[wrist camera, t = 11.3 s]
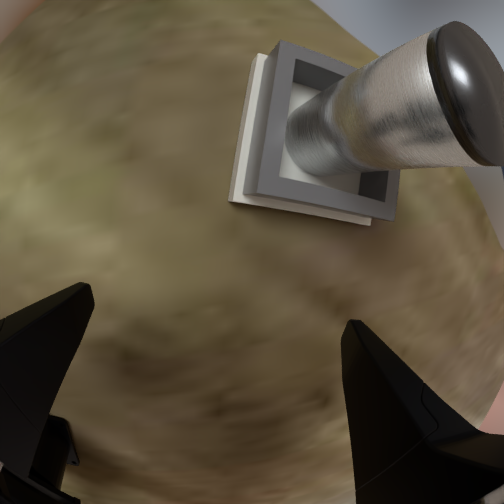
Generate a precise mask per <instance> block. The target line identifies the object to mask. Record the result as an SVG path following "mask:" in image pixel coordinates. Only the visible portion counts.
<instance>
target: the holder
mask: <svg viewBox="0 0 504 504" xmlns="http://www.w3.org/2000/svg"><path fill="white" fill-rule="evenodd" d="M356 70H358V69H357V68H354V67H352V66H350V65H348V64H345V63H343V62H341V61H338V60H336V59H333V58H331V57H328V56H326V55H323V54H321V53H318V52H315V51H313V50H310V49H307V48H304V47H301V46H298V45H295V44H292V43H289V42H286V41H283V40H280V41H279V43H278V44H277V45H276V46H275V48H274V49H273V50H272V52H271V53H270V54H269V56H267V55H263V54H260V53H258V54H257V56H256V57H255V59H254V60H253V62H252V65H251V70H250V75H249V80H248V86H247V91H246V96H245V102H244V107H243V113H242V119H241V124H240V130H239V136H238V142H237V148H236V154H235V160H234V166H233V172H232V179H231V185H230V191H229V198H228V201H230V202H237V203H244V204H250V205H256V206H263V207H269V208H275V209H281V210H287V211H292V212H298V213H304V214H309V215H315V216H320V217H325V218H331V219H336V220H341V221H346V222H351V223H356V224H362V225H368V226H370V225H371V219H379V220H386V221H394V219H395V212H396V204H397V196H398V188H399V178H400V170H387V171H374V172H363V173H353V174H343V175H334V176H325V177H320V176H314V175H311V174H309V173H307V172H305V171H303V170H302V169H300V168H299V167H298V166H297V165H296V164H295V163H294V162H293V160H292V159H291V157H290V156H289V154H288V152H287V149H286V146H285V142H284V139H285V132H286V125H287V119H288V117H289V115H290V114H291V113H292V112H293V111H294V110H295V109H296V108H298V107H299V106H300V105H302V104H303V103H305V102H306V101H308V100H310V99H311V98H313V97H314V96H316V95H317V94H319V93H320V92H322V91H323V90H325V89H327V88H328V87H330V86H331V85H333V84H335V83H336V82H338V81H339V80H341V79H343V78H344V77H346V76H348V75H349V74H351V73H353V72H354V71H356Z"/></svg>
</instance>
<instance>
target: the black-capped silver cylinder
mask: <svg viewBox="0 0 504 504" xmlns="http://www.w3.org/2000/svg"><path fill="white" fill-rule="evenodd" d="M284 142H285V146H286V149H287V152H288V154H289V156H290V157H291V159H292V160H293V162H294V163H295V164H296V165H297V166H298V167H299V168H300V169H302V170H303V171H305V172H307V173H309V174H311V175H314V176H320V177H325V176H334V175H343V174H353V173H363V172H374V171H387V170H400V169H416V168H435V167H465V166H504V72H503V69H502V67H501V65H500V64H499V62H498V61H497V58H496V57H495V55H494V54H493V52H492V51H491V49H490V48H489V46H488V45H487V44H486V43H485V42H484V41H483V39H482V38H481V37H480V36H479V35H478V34H477V33H476V32H475V31H474V30H472V29H471V28H470V27H469V26H467V25H465V24H463V23H461V22H457V21H453V22H450V23H448V24H446V25H443V26H441V27H439V28H436V29H434V30H432V31H430V32H428V33H426V34H424V35H422V36H419V37H417V38H415V39H413V40H411V41H409V42H407V43H405V44H403V45H401V46H400V47H398V48H396V49H394V50H392V51H390V52H389V53H386V54H385V55H383V56H381V57H379V58H377V59H375V60H374V61H372V62H370V63H368V64H366V65H365V66H363V67H361V68H360V69H358V70H356V71H354V72H353V73H351V74H349V75H348V76H346V77H344V78H343V79H341V80H339V81H338V82H336V83H335V84H333V85H331V86H330V87H328V88H327V89H325V90H323V91H322V92H320V93H319V94H317V95H316V96H314V97H313V98H311V99H310V100H308V101H306V102H305V103H303V104H302V105H300V106H299V107H298V108H296V109H295V110H294V111H293V112H292V113H291V114H290V115H289V117H288V119H287V125H286V132H285V139H284Z"/></svg>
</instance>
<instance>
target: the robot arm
mask: <svg viewBox="0 0 504 504" xmlns="http://www.w3.org/2000/svg"><path fill="white" fill-rule="evenodd" d="M94 306H95V302H94V298H93V294H92V290H91V286H90V285H89V284H88V283H83V282H79V283H76V284H74V285H72V286H70V287H68V288H65V289H63V290H61V291H59V292H57V293H55V294H53V295H50V296H48V297H46V298H44V299H42V300H40V301H38V302H36V303H34V304H32V305H29V306H27V307H25V308H23V309H21V310H19V311H17V312H15V313H13V314H11V315H9V316H7V317H6V318H3V319H1V320H0V504H81V502H80V499H78V498H76V497H72V496H70V495H68V494H66V493H64V492H62V491H60V489H61V484H62V480H63V475H64V471H65V467H66V464H71V465H75V466H78V465H79V458H78V456H77V453H76V450H75V447H74V444H73V441H72V438H71V435H70V431H69V428H68V424H67V422H66V421H65V420H64V419H61V418H57V417H53V416H49V412H50V410H51V407H52V405H53V402H54V400H55V398H56V395H57V393H58V390H59V388H60V386H61V383H62V381H63V379H64V377H65V374H66V372H67V370H68V368H69V366H70V364H71V361H72V359H73V357H74V355H75V353H76V351H77V349H78V347H79V345H80V342H81V340H82V338H83V335H84V333H85V330H86V327H87V325H88V322H89V320H90V317H91V315H92V312H93V310H94ZM341 359H342V381H343V389H344V395H345V402H346V409H347V417H348V424H349V432H350V440H351V449H352V458H353V468H354V480H355V490H356V492H355V494H356V504H504V435H498V434H489V433H485V432H482V431H480V430H478V429H476V428H475V427H474V426H472V425H471V424H470V423H469V422H468V421H467V420H465V419H464V418H463V417H462V416H461V415H459V414H458V413H457V412H456V411H455V410H454V409H452V408H451V407H450V406H449V405H448V404H447V403H445V402H444V401H443V400H442V399H441V398H440V397H439V396H438V395H437V394H436V393H435V392H434V391H433V390H432V389H431V388H430V387H429V386H428V385H427V384H426V383H424V382H423V380H422V379H421V378H420V377H419V376H418V375H417V374H416V373H415V372H414V371H413V370H412V369H411V368H410V367H409V366H408V365H407V364H406V363H405V362H403V361H402V360H401V359H400V358H399V357H398V356H397V355H396V354H395V353H394V352H393V351H392V350H391V349H390V348H389V347H388V346H387V345H386V344H385V343H384V342H383V341H382V340H381V339H380V338H379V337H378V336H377V335H376V334H375V333H374V332H373V331H372V330H371V329H370V328H369V327H368V326H367V325H365V324H364V323H363V322H362V321H361V320H354V319H350V320H349V321H348V322H347V325H346V327H345V330H344V332H343V335H342V337H341Z"/></svg>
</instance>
